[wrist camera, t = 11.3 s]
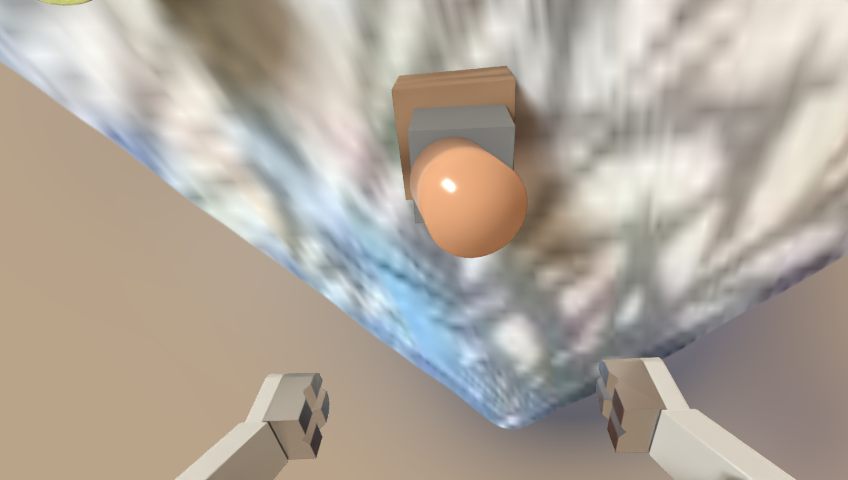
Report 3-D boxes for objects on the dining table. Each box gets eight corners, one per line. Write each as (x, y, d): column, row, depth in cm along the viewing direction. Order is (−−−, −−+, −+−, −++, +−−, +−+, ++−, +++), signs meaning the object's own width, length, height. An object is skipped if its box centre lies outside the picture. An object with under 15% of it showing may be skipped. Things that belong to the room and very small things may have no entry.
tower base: (399, 75, 31) (391, 90, 27) (506, 65, 30) (515, 79, 26) (411, 173, 35) (406, 199, 31) (505, 167, 35) (513, 192, 30)
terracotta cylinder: (449, 117, 22) (476, 137, 18) (509, 172, 24) (547, 201, 20) (391, 187, 24) (404, 221, 19) (454, 234, 26) (478, 274, 21)
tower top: (414, 108, 28) (407, 131, 23) (504, 103, 27) (515, 126, 23) (419, 190, 31) (415, 223, 26) (501, 187, 30) (509, 220, 26)
